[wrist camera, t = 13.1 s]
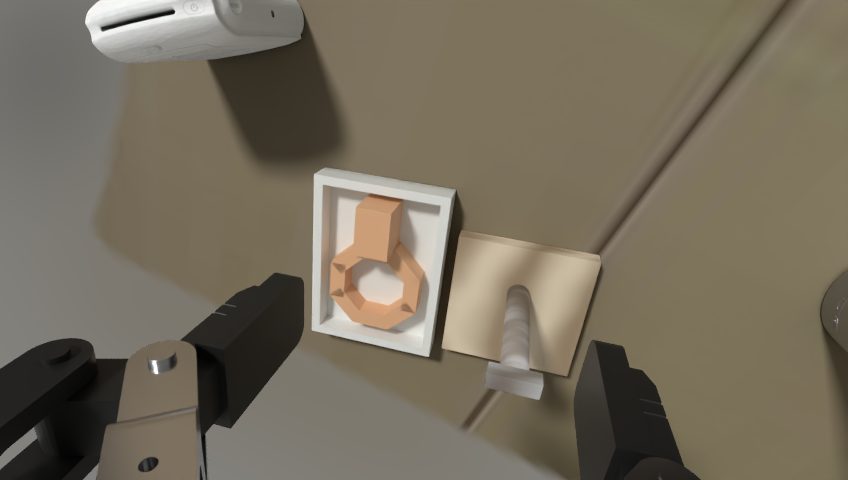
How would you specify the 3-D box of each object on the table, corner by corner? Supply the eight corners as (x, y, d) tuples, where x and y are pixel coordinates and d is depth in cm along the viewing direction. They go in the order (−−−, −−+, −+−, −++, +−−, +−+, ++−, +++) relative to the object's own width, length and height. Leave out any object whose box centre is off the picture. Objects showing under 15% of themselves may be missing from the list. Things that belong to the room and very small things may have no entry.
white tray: (456, 189, 40) (451, 198, 38) (433, 342, 47) (428, 357, 45) (325, 166, 42) (314, 174, 40) (322, 316, 49) (311, 330, 46)
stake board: (599, 255, 40) (629, 350, 27) (566, 366, 45) (579, 489, 32) (461, 229, 41) (431, 308, 29) (444, 339, 46) (412, 446, 34)
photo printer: (298, -17, 36) (196, -43, 25) (312, 42, 38) (221, 42, 27) (189, 9, 39) (52, -4, 28) (206, 63, 41) (82, 71, 29)
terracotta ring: (433, 204, 40) (424, 220, 37) (417, 324, 46) (407, 348, 42) (342, 187, 42) (324, 200, 38) (336, 305, 47) (320, 327, 43)
